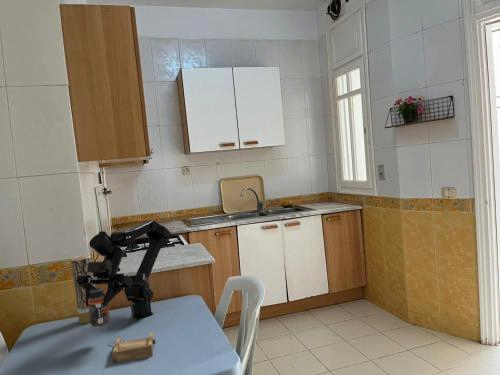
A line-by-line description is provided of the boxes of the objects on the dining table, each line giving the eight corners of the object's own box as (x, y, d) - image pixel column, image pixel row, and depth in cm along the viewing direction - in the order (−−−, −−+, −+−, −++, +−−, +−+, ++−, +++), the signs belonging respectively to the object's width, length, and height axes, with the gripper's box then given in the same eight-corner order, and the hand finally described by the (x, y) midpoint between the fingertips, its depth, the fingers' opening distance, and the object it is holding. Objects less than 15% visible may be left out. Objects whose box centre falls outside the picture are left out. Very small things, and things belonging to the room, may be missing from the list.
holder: (115, 347, 119) (114, 338, 119) (156, 339, 122) (155, 330, 122) (110, 363, 108) (109, 353, 108) (155, 355, 111) (154, 345, 111)
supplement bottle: (106, 326, 121) (101, 292, 120) (87, 328, 121) (83, 294, 120) (113, 318, 127) (108, 286, 126) (95, 320, 127) (91, 287, 126)
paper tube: (90, 323, 143) (83, 258, 142) (75, 324, 144) (67, 259, 143) (101, 316, 149) (94, 254, 148) (86, 317, 151) (78, 255, 150)
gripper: (75, 252, 129) (55, 295, 119) (123, 249, 124) (107, 294, 114) (93, 268, 137) (76, 309, 127) (139, 266, 132) (125, 309, 122)
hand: (95, 305), depth 122 cm, fingers closed on supplement bottle, 6 cm apart
